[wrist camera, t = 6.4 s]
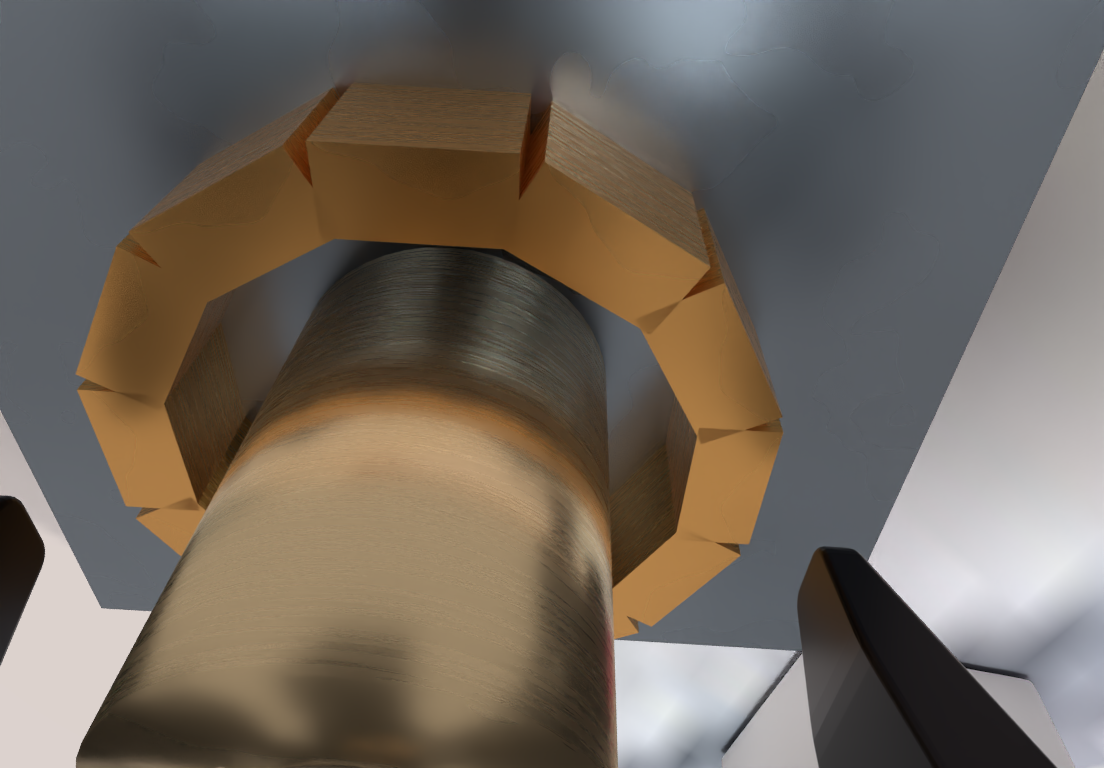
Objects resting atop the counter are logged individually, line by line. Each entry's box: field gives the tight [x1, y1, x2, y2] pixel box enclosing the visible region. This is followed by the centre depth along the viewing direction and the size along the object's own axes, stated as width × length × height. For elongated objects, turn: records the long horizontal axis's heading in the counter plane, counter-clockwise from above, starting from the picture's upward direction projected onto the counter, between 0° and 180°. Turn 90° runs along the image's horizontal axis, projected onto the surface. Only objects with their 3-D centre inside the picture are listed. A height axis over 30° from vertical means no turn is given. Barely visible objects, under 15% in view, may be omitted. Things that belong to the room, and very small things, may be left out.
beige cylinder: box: [76, 248, 618, 768], centre depth 8 cm, size 4×4×7 cm
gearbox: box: [0, 0, 1104, 651], centre depth 12 cm, size 17×12×6 cm
